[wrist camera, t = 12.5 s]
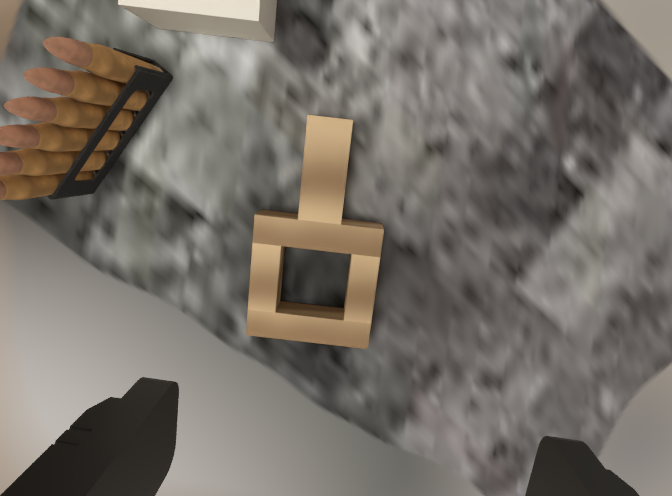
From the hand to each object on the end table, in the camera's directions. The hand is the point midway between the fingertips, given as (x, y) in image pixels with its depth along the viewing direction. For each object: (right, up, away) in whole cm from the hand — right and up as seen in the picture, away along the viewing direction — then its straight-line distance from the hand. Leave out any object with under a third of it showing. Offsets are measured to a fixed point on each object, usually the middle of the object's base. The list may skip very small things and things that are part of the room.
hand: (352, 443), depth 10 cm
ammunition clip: (-16, +13, +23) cm, 31 cm away
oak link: (-2, +6, +24) cm, 25 cm away
